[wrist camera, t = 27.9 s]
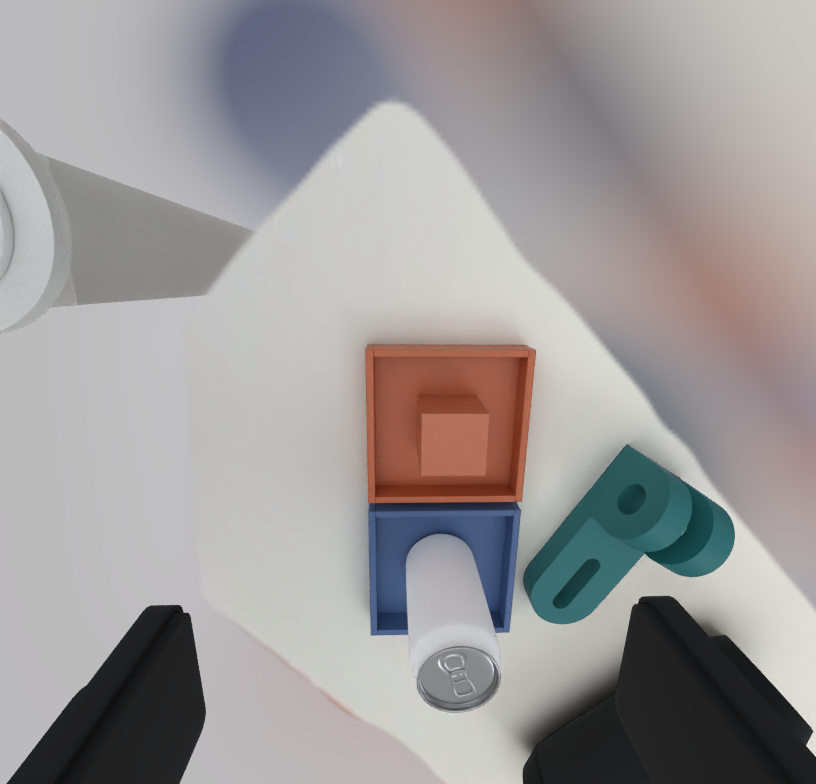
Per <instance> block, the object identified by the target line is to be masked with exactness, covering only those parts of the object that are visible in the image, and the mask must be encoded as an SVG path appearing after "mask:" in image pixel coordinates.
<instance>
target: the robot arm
mask: <svg viewBox="0 0 816 784" xmlns="http://www.w3.org/2000/svg"><path fill="white" fill-rule="evenodd" d="M12 251H13V226H12V220H11V215H10V212H9V209H8V206H7V204H6V201H5V198H4V196H3V194H2V193H1V191H0V279H1V278H2V277H3V275H4V274H5V272H6V270H7V268H8V266H9V263H10V261H11V256H12ZM615 706H616V711H617V714H618V717H619V719H620V721H621V723H622V725H623V727H624V729H625V731H626V733H627V735H628V737H629V739H630V741H631V742H632V744H633V746H634V748H635V750H636V752H637V754H638V756H639V758H640V760H641V762H642V764H643V766H644V768H645V770H646V772H647V773H648V775H649V777H650V779H651V781H652V783H653V784H816V757H815V756H814V754H813V753H812V752H811V751H810V750H809V749H808V748H807V746H806V745H805V744H804V743H803V742H802V741H801V740H800V739H799V737H798V736H797V735H796V734H795V733H794V732H793V731H792V730H791V728H790V727H789V726H788V725H787V724H786V723H785V722H784V721H783V719H782V718H781V717H780V716H779V715H778V714H777V713H776V712H775V710H774V709H773V708H772V707H771V706H770V705H769V704H768V703H767V701H766V700H765V699H764V698H763V697H762V696H761V695H760V694H759V692H758V691H757V690H756V689H755V688H754V687H753V686H752V685H751V683H750V682H749V681H748V680H747V679H746V678H745V677H744V676H743V674H742V673H741V672H740V671H739V670H738V669H737V668H736V666H735V665H734V664H733V663H732V662H731V661H730V660H729V659H728V657H727V656H726V655H725V654H724V653H723V652H722V651H721V650H720V648H719V647H718V646H717V645H716V644H715V643H714V642H713V641H712V639H711V638H710V637H709V636H708V635H707V634H706V633H705V632H704V630H703V629H702V628H701V627H700V626H699V625H698V624H697V623H696V621H695V620H694V619H693V618H692V617H691V616H690V615H689V614H688V612H687V611H686V610H685V609H684V608H683V607H682V606H681V605H680V603H679V602H678V601H677V600H676V599H674V598H673V597H671V596H645V597H641V598H640V599H639V602H638V604H635V605H634V606H633V607H632V611H631V616H630V621H629V627H628V632H627V637H626V642H625V648H624V653H623V658H622V663H621V669H620V674H619V679H618V684H617V689H616V695H615ZM205 714H206V708H205V702H204V696H203V691H202V683H201V677H200V671H199V665H198V659H197V653H196V647H195V641H194V635H193V629H192V623H191V617H190V614H189V613H183V609H182V607H181V606H180V605H158V606H149V607H147V608H146V609H145V610H144V611H143V612H142V613H141V615H140V616H139V617H138V619H137V620H136V621H135V623H134V624H133V625H132V627H131V628H130V629H129V630H128V632H127V633H126V635H125V636H124V637H123V638H122V640H121V641H120V643H119V644H118V645H117V646H116V648H115V649H114V650H113V652H112V653H111V654H110V655H109V657H108V658H107V660H106V661H105V662H104V663H103V665H102V666H101V667H100V669H99V670H98V671H97V673H96V674H95V675H94V677H93V678H92V679H91V680H90V682H89V683H88V684H87V686H85V687H84V688H82V689H81V690H80V691H79V692H78V693H77V694H76V695H75V696H74V697H73V698H72V700H71V701H70V702H69V703H68V705H67V706H66V707H65V709H64V710H63V711H62V713H61V714H60V715H59V716H58V718H57V719H56V721H55V722H54V723H53V724H52V726H51V727H50V728H49V730H48V731H47V732H46V733H45V735H44V736H43V737H42V739H41V740H40V741H39V742H38V744H37V745H36V746H35V748H34V749H33V750H32V752H31V753H30V754H29V755H28V757H27V758H26V760H25V761H24V762H23V763H22V764H21V766H20V767H19V768H18V770H17V771H16V772H15V774H14V775H13V776H12V777H11V779H10V780H9V781H8V783H7V784H179V783H180V781H181V779H182V776H183V774H184V771H185V769H186V767H187V765H188V762H189V760H190V758H191V755H192V753H193V750H194V748H195V746H196V743H197V741H198V739H199V737H200V734H201V731H202V729H203V725H204V721H205Z"/></svg>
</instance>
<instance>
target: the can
mask: <svg viewBox="0 0 816 784" xmlns="http://www.w3.org/2000/svg"><path fill="white" fill-rule="evenodd" d="M406 590H407V615H408V639H409V657H410V666H411V670H412V673H413V675H414V677H415V679H416V681H417V688H418V691H419V694H420V695H421V697H422V698H423V700H424V701H425V702H426V703H428V704H429V705H430V706H432V707H434V708H436V709H438V710H441V711H445V712H451V713H460V712H467V711H471V710H474V709H476V708H479V707H481V706H482V705H484V704H485V703H487V702H488V701H489V700H490V699H491V698H492V697H493V696H494V695H495V693H496V692H497V690H498V688H499V685H500V679H501V676H500V670H499V666H500V649H499V644H498V640H497V637H496V633H495V629H494V626H493V622H492V619H491V615H490V612H489V608H488V605H487V601H486V598H485V594H484V591H483V587H482V584H481V580H480V577H479V574H478V570H477V567H476V563H475V560H474V557H473V554H472V552H471V550H470V548H469V546H468V545H467V544H466V543H465V542H464V541H462V540H461V539H459V538H457V537H455V536H452V535H448V534H434V535H430V536H428V537H425V538H423V539H422V540H420V541H418V542H417V543H416V544H415V545H414V546H413V547H412V548H411V550H410V551H409V553H408V555H407V559H406Z"/></svg>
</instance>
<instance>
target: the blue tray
mask: <svg viewBox="0 0 816 784" xmlns="http://www.w3.org/2000/svg"><path fill="white" fill-rule="evenodd" d="M520 514H521V510H520V508H519V506H518V504H517V503H516V502H434V503H369V565H370V618H371V635H408V615H407V590H406V559H407V555H408V553H409V551H410V550H411V548H412V547H413V546H414V545H415V544H416V543H417V542H418V541H420V540H422V539H423V538H425V537H428V536H430V535H434V534H448V535H452V536H455V537H457V538H459V539H461V540H462V541H464V542H465V543H466V544H467V545H468V546H469V548H470V550H471V552H472V554H473V557H474V560H475V563H476V567H477V570H478V574H479V577H480V580H481V584H482V587H483V591H484V594H485V598H486V601H487V605H488V608H489V612H490V615H491V619H492V622H493V626H494V629H495V633H503V632H509V630H510V619H511V609H512V598H513V588H514V577H515V566H516V556H517V545H518V535H519V524H520Z"/></svg>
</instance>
